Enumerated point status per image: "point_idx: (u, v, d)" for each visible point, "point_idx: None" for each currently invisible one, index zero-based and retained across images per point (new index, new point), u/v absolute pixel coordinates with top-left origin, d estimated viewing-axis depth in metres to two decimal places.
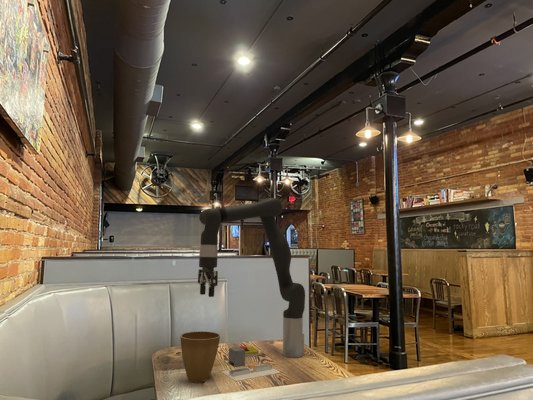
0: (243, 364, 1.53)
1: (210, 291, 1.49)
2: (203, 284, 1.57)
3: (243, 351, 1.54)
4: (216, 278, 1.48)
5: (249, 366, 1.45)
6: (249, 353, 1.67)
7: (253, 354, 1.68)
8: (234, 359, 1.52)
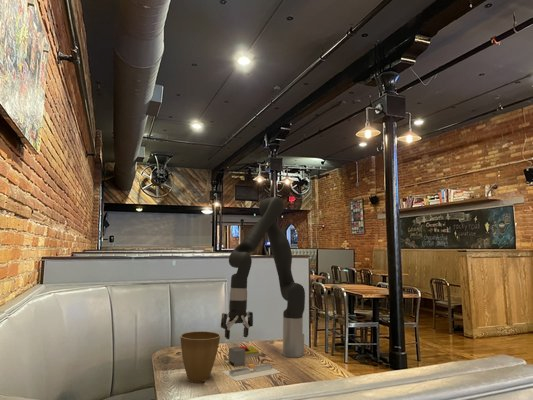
0: (243, 364, 1.53)
1: (247, 332, 1.59)
2: None
3: (243, 351, 1.54)
4: None
5: (249, 366, 1.45)
6: (250, 353, 1.67)
7: (254, 354, 1.67)
8: (234, 359, 1.52)
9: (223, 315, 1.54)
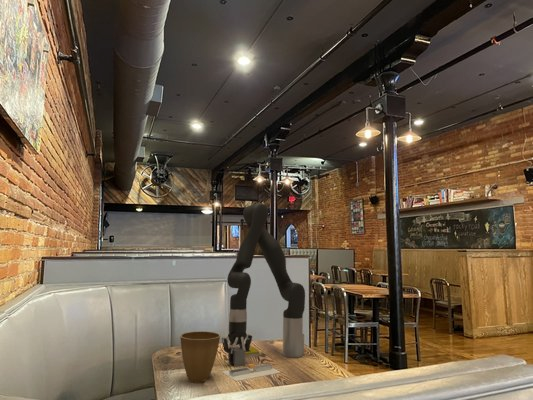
0: (243, 364, 1.53)
1: None
2: None
3: (243, 351, 1.54)
4: None
5: (249, 366, 1.45)
6: (250, 353, 1.67)
7: (254, 354, 1.67)
8: (234, 359, 1.52)
9: (223, 340, 1.52)
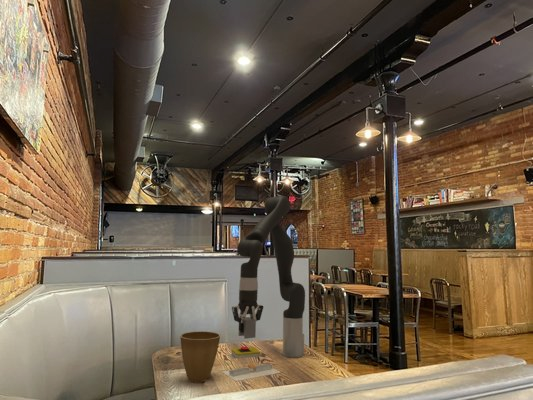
0: (254, 334, 1.48)
1: None
2: None
3: (254, 321, 1.48)
4: None
5: (249, 366, 1.45)
6: (251, 353, 1.66)
7: (255, 354, 1.67)
8: (244, 328, 1.47)
9: (233, 309, 1.47)
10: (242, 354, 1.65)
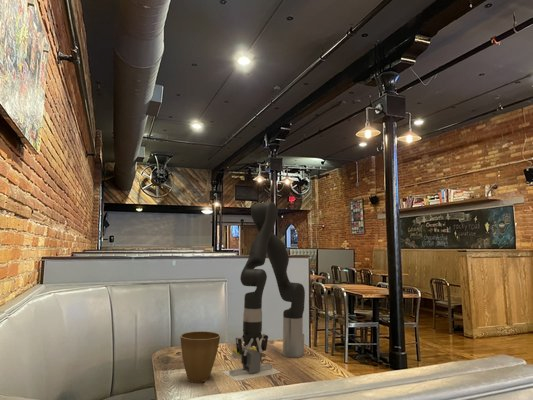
0: (259, 368, 1.44)
1: (261, 357, 1.47)
2: None
3: (259, 354, 1.44)
4: None
5: None
6: None
7: None
8: (249, 362, 1.43)
9: (237, 340, 1.43)
10: None
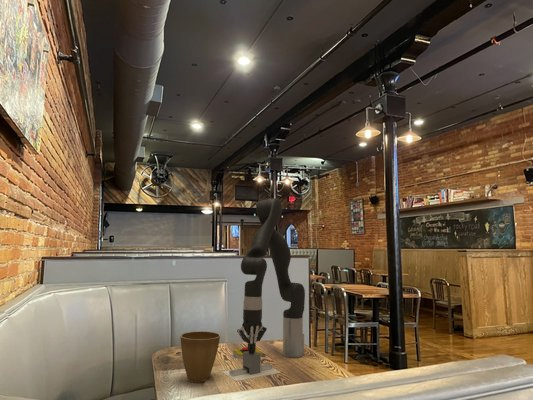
0: (259, 369, 1.44)
1: (254, 347, 1.46)
2: None
3: (259, 355, 1.44)
4: None
5: None
6: None
7: None
8: (249, 364, 1.43)
9: (239, 332, 1.44)
10: None
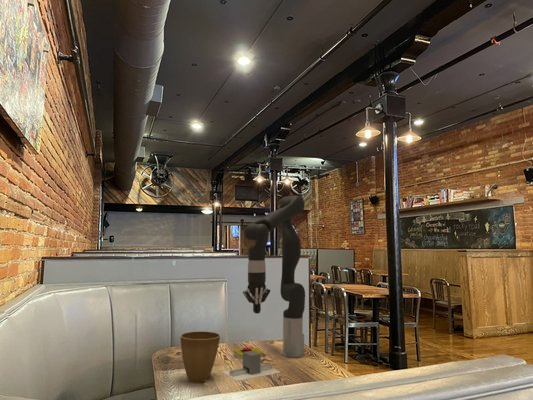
0: (259, 369, 1.44)
1: (259, 307, 1.55)
2: None
3: (259, 355, 1.44)
4: None
5: None
6: None
7: None
8: (249, 364, 1.42)
9: (245, 294, 1.52)
10: None
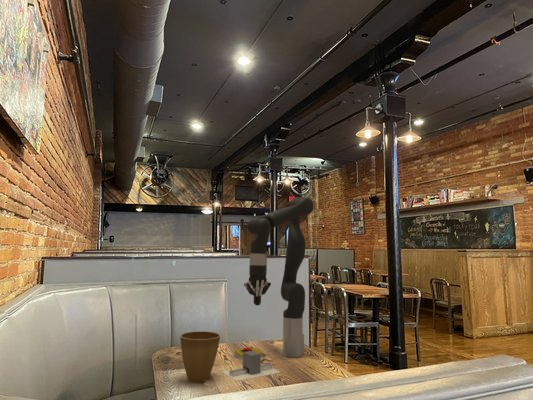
0: (259, 369, 1.44)
1: (260, 300, 1.59)
2: None
3: (259, 355, 1.44)
4: None
5: None
6: None
7: None
8: (249, 364, 1.42)
9: (246, 285, 1.56)
10: None
